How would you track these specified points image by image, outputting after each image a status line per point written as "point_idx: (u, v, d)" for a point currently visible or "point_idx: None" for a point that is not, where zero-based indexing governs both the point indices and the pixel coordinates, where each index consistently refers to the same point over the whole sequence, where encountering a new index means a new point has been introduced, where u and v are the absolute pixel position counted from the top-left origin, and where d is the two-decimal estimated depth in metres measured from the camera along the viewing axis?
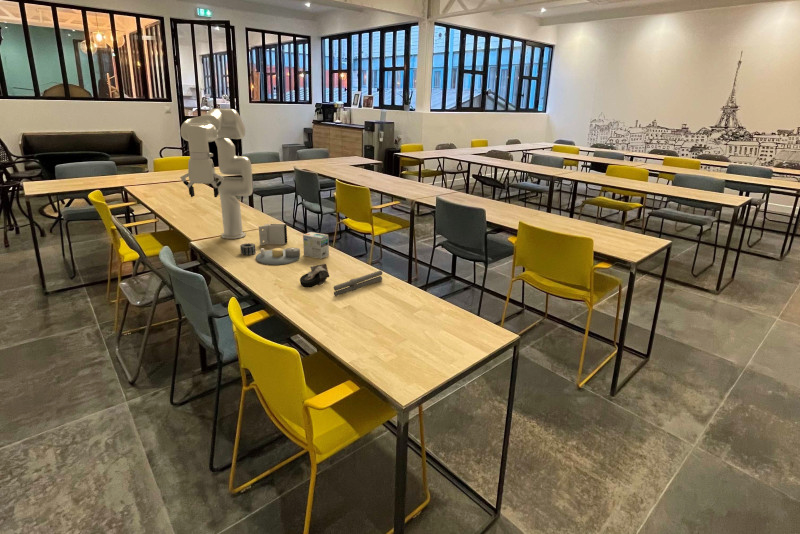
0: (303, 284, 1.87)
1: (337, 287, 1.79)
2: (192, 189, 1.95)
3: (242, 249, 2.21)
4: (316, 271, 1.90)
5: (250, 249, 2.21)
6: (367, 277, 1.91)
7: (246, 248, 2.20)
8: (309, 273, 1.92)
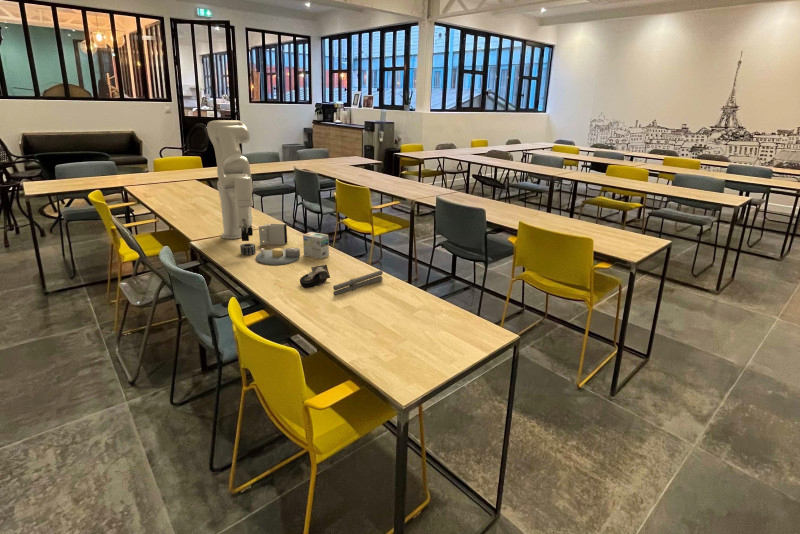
0: (302, 284, 1.87)
1: (337, 287, 1.80)
2: None
3: (242, 249, 2.21)
4: (316, 272, 1.89)
5: (250, 249, 2.21)
6: (367, 277, 1.91)
7: (246, 248, 2.20)
8: (309, 274, 1.92)
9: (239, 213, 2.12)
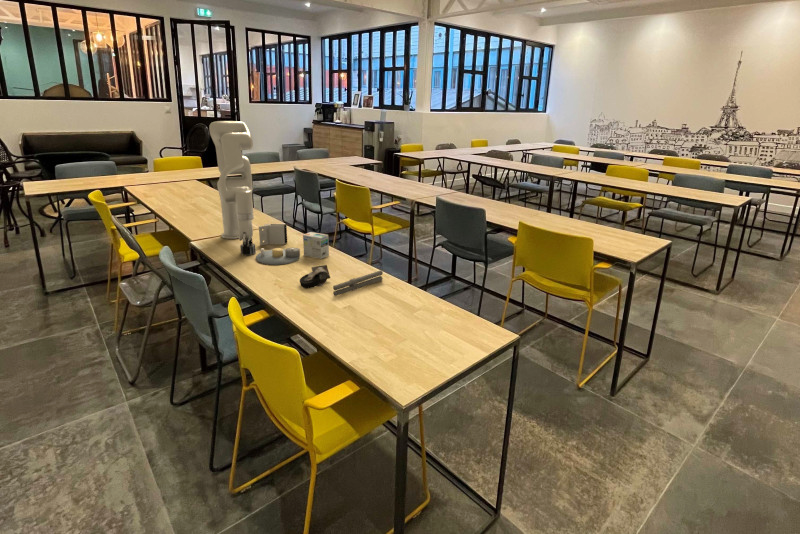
0: (302, 285, 1.87)
1: (336, 287, 1.80)
2: None
3: (242, 249, 2.21)
4: (316, 272, 1.89)
5: (250, 249, 2.21)
6: (367, 277, 1.91)
7: None
8: (309, 274, 1.91)
9: (240, 226, 2.15)
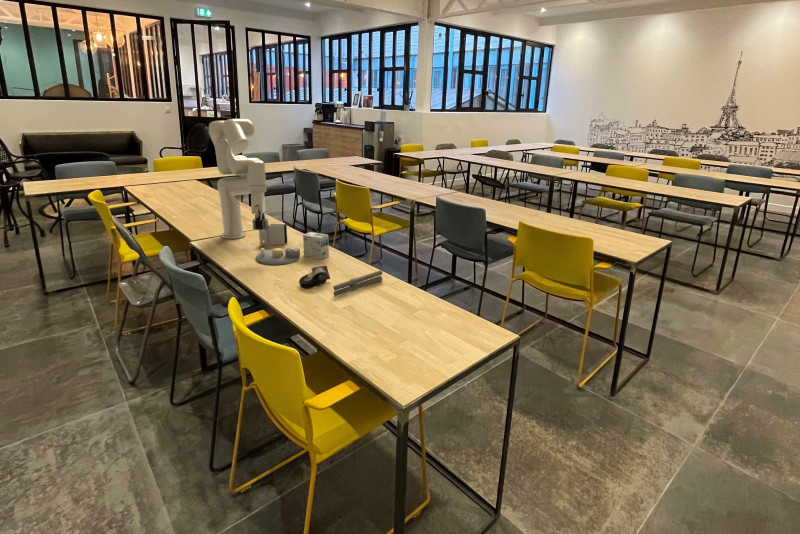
0: (301, 285, 1.86)
1: (337, 287, 1.80)
2: None
3: (254, 223, 2.10)
4: (315, 272, 1.88)
5: (263, 223, 2.11)
6: (367, 277, 1.91)
7: None
8: (309, 274, 1.91)
9: (252, 199, 2.04)
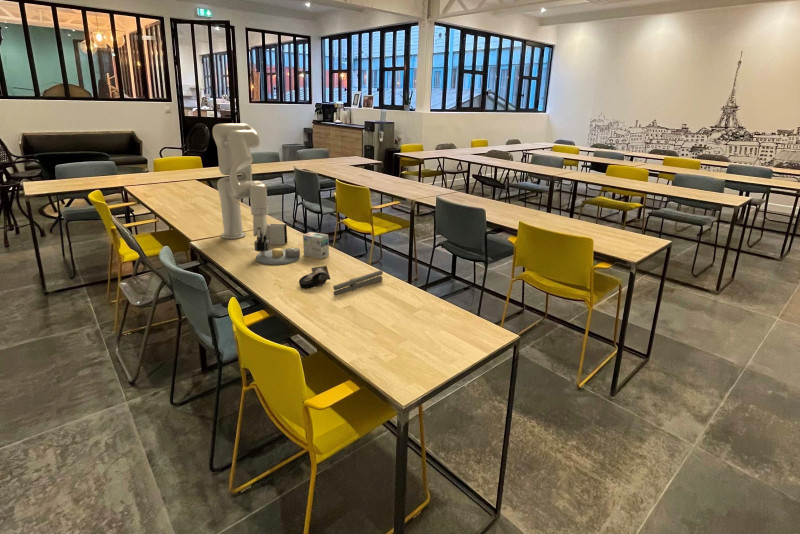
0: (301, 285, 1.86)
1: (337, 287, 1.80)
2: None
3: (256, 245, 2.14)
4: (315, 273, 1.88)
5: (264, 245, 2.14)
6: (367, 277, 1.91)
7: None
8: (309, 274, 1.91)
9: (254, 221, 2.08)
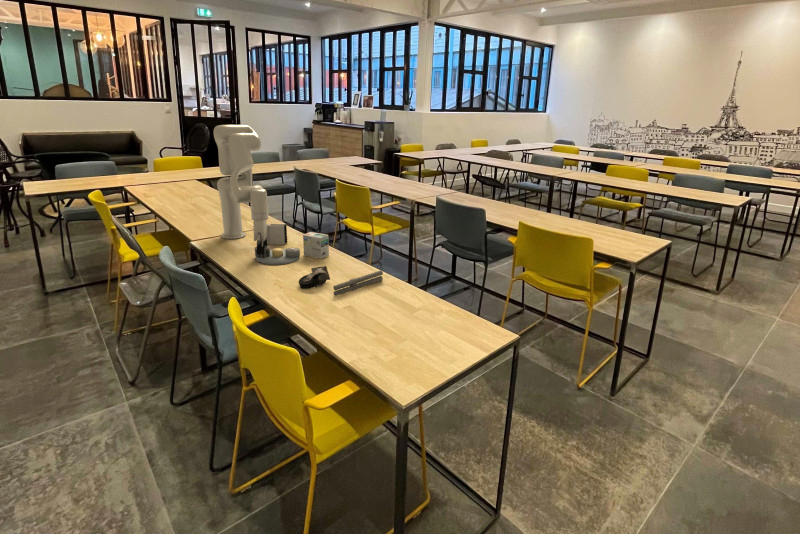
0: (301, 285, 1.86)
1: (337, 287, 1.80)
2: None
3: (256, 252, 2.15)
4: (315, 273, 1.88)
5: (265, 252, 2.16)
6: (367, 277, 1.91)
7: None
8: (309, 274, 1.91)
9: (255, 226, 2.09)
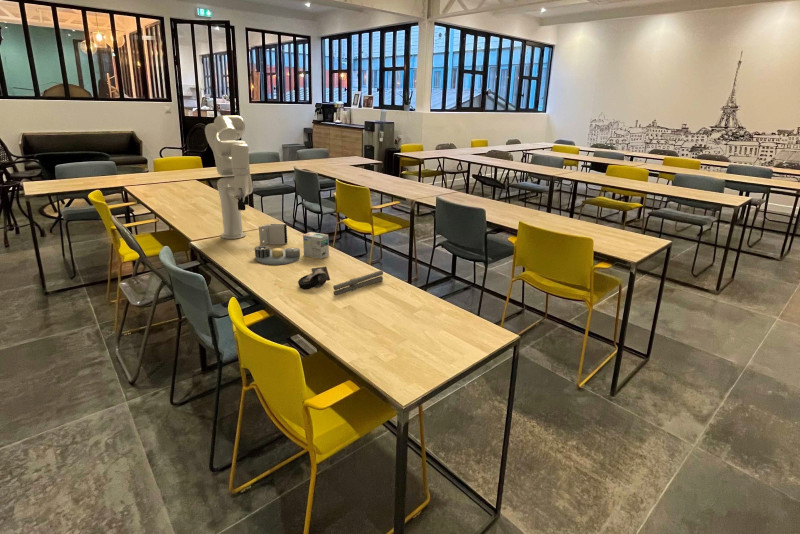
0: (300, 285, 1.86)
1: (337, 287, 1.80)
2: None
3: (256, 252, 2.15)
4: (314, 273, 1.87)
5: (265, 252, 2.16)
6: (367, 277, 1.91)
7: (261, 251, 2.15)
8: (309, 275, 1.90)
9: (236, 181, 2.08)
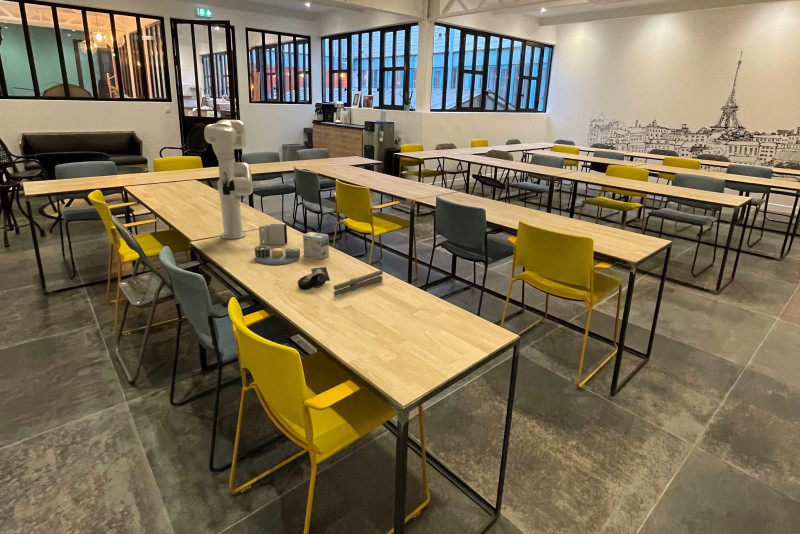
0: (299, 286, 1.86)
1: (337, 287, 1.80)
2: None
3: (256, 252, 2.15)
4: (314, 274, 1.87)
5: (265, 252, 2.16)
6: (367, 277, 1.91)
7: (261, 251, 2.15)
8: (309, 275, 1.90)
9: (220, 166, 2.11)
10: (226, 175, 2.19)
